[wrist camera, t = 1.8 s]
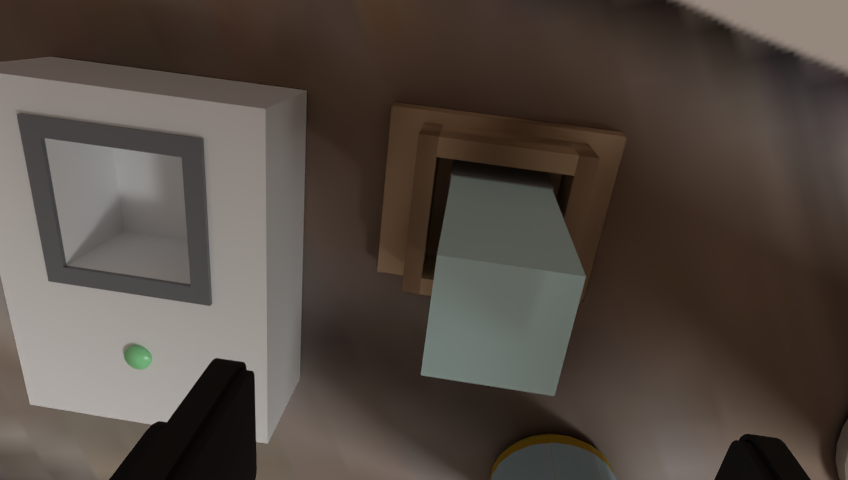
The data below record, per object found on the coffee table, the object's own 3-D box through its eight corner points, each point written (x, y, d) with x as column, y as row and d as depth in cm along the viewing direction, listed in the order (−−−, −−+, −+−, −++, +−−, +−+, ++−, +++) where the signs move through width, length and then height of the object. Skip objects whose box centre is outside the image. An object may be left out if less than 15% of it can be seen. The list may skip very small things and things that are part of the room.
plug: (547, 172, 23) (588, 275, 14) (529, 256, 25) (555, 397, 16) (453, 159, 24) (435, 253, 14) (442, 243, 25) (418, 376, 16)
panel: (306, 90, 24) (263, 109, 19) (300, 378, 30) (266, 446, 26) (51, 56, 25) (-53, 67, 20) (96, 346, 31) (27, 407, 26)
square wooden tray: (621, 131, 23) (643, 151, 20) (579, 291, 27) (592, 330, 23) (395, 102, 24) (381, 116, 21) (380, 262, 27) (366, 296, 24)
